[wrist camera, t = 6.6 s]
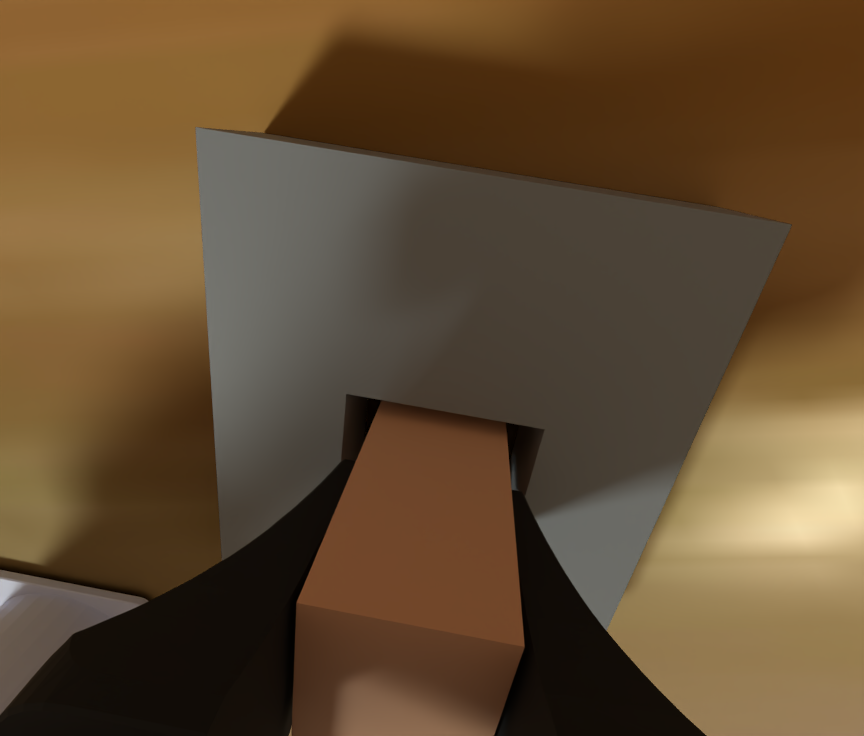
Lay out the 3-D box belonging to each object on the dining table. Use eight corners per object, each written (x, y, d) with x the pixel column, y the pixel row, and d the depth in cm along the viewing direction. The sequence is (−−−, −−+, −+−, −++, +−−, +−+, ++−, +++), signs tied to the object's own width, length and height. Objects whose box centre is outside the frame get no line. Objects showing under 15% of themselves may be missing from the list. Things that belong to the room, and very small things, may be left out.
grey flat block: (557, 622, 19) (571, 708, 16) (265, 566, 19) (226, 640, 16) (718, 207, 12) (792, 224, 9) (262, 132, 12) (195, 127, 10)
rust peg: (482, 485, 16) (481, 773, 8) (380, 467, 16) (291, 735, 8) (503, 395, 14) (524, 646, 7) (391, 375, 14) (296, 602, 7)
